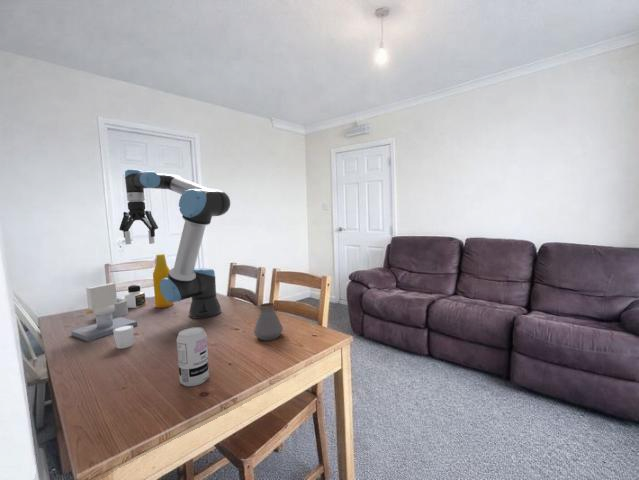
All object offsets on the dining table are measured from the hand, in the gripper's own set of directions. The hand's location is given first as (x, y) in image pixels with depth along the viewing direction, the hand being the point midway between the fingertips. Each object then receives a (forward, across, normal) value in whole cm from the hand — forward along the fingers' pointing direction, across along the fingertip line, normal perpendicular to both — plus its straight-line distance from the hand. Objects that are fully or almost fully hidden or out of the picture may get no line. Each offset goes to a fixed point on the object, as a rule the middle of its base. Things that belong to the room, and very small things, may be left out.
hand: (140, 243), depth 159 cm
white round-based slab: (+28, -3, -23) cm, 36 cm away
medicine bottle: (+37, -18, +14) cm, 44 cm away
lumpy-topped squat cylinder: (+37, -17, -2) cm, 41 cm away
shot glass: (+37, +20, -36) cm, 55 cm away
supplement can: (+37, +63, -57) cm, 93 cm away
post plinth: (+37, -3, -22) cm, 43 cm away
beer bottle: (+37, -2, +16) cm, 40 cm away
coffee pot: (+37, +70, -20) cm, 82 cm away
